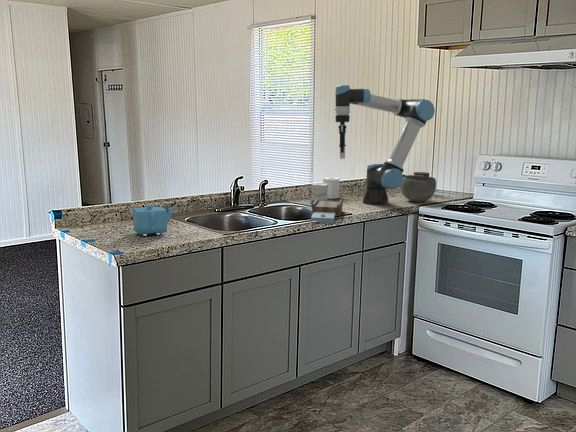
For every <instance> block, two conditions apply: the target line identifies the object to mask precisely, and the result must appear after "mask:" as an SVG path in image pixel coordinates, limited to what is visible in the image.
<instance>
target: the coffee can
mask: <svg viewBox="0 0 576 432" xmlns="http://www.w3.org/2000/svg"><path fill="white" fill-rule="evenodd" d="M412 175H417V176H425V177H430V172H424V171H423V172H422V171H415V172H413V174H412Z"/></svg>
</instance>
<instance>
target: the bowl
mask: <svg viewBox="0 0 576 432" xmlns="http://www.w3.org/2000/svg"><path fill="white" fill-rule="evenodd" d="M400 187H401V190H400V191H401V193H402V195H403V196H404V198H406V199H407V200H409V201H412V202H416V203H417V202H419V203H420V202H422V203H423V202H427V201H429V200H430V199H432V197H433V196H434V194H435V192H436V189H437V179H436V178H435V177H433V176H429V177H425V176H417V175H414V174H409V175H408V174H407V175H403V181H402V183H401V185H400Z"/></svg>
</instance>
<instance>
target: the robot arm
mask: <svg viewBox="0 0 576 432" xmlns="http://www.w3.org/2000/svg"><path fill="white" fill-rule="evenodd" d="M350 105H355V106H360V107H364V108H370V109H374V110H379V111H383V112H387V113H392V115H393V116H397V117H400V118H404V119H405V121H406V122H405V125H404V127H403V129H402V130H401V133H400V135H399V137H398V139H397V142H396V144H395V145H394V147H393V150H392V152H391V154H390V156H389V158H388V160H385V161H384V163H372V164H371V163H370V164H368V165H367V167H366V181H365V182H366V185H365V187H366V188H365V192H364V194H363V197H362V203H364V204H366V205H367V204H368V205H379V204H380V205H387V203H388V204H389V196H388V193H387V190H395V189H397V188H399V187H401V184H402V181H403V178H404V175H403V173H404V170H405V169H404V167H403V166H404V164H405V163H406V160H407V157H408V155H409V153H410V152H411V149H412V148H413V146H414V145H413V144H414V142H415V141H416V138H417V136H418V135H419V132H420V130H421V128H425V126H426V124H427V122H428V121H430V120H432V118H433V117H434V116H435V112H436V111H435V107H434V104H433V102H432V101H431V100H429V99H425V98H419V99H413V98H412V99H404V98H403V99H401V98H396V99H393V98H389V97H386V96H385V97H384V96H380V95H375V94H372V93H371V90H370V89H368V88H351V87H350V85H349V84H345V85H344V84H341V85H339V84H338V85H336V86H335V108H334V111H335V114H336V115H335V122H336V123H339V125H338V134H339V145H338V147H339V160H344V159H345V158H346V147H347V145H346V133H347V130H346V129H347V125H346V124H345V123H350V112H351V111H350V110H351V109H350V108H351V106H350Z"/></svg>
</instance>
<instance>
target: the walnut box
mask: <svg viewBox="0 0 576 432" xmlns="http://www.w3.org/2000/svg"><path fill="white" fill-rule="evenodd" d="M311 210H312V211H311V215H312V214H313V212H335V216H339V215H340V216H341V214H342V212H343V199H339V201H331V200H330V201H328V200H327V201H319V199H316V200H315V202H314V203H313V204H312V205H311ZM340 213H341V214H340Z"/></svg>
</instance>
